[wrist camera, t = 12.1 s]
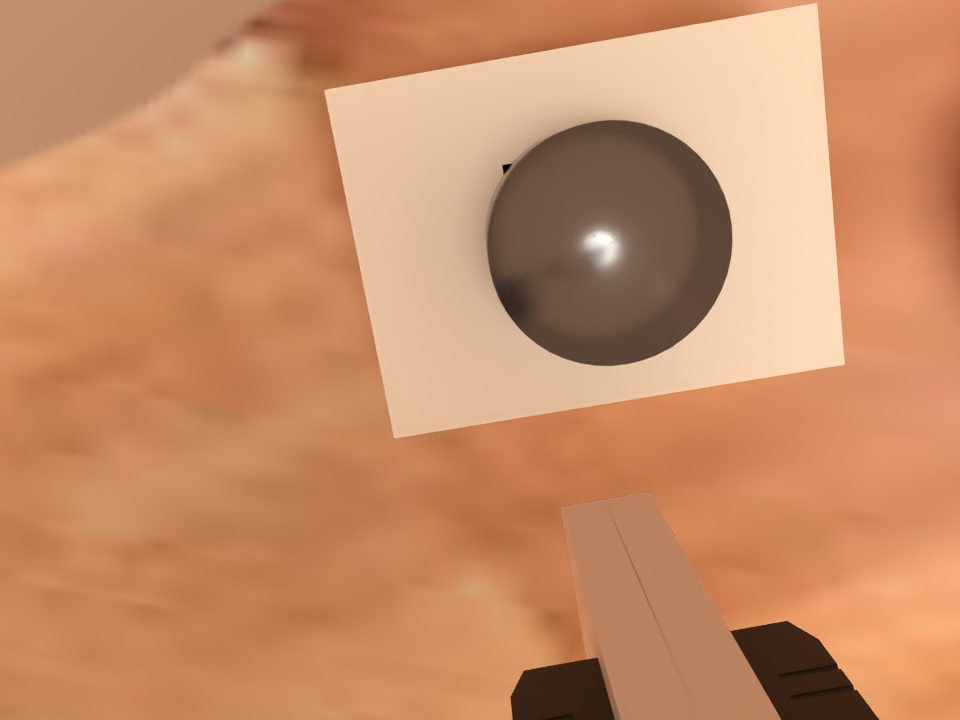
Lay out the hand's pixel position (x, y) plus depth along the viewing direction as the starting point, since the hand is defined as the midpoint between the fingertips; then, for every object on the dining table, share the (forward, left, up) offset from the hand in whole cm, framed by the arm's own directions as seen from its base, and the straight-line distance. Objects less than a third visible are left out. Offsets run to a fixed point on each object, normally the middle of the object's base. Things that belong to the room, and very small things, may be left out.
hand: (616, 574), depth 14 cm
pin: (+2, +4, -22) cm, 22 cm away
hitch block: (+2, +4, -22) cm, 22 cm away
